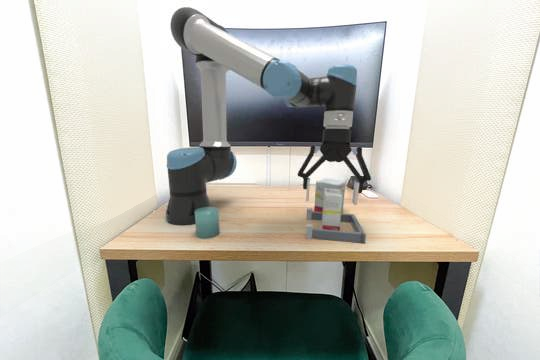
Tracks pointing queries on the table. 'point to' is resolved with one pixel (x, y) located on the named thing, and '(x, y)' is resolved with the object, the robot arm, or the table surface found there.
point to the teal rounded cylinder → (207, 222)
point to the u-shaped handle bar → (335, 235)
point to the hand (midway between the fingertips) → (330, 201)
